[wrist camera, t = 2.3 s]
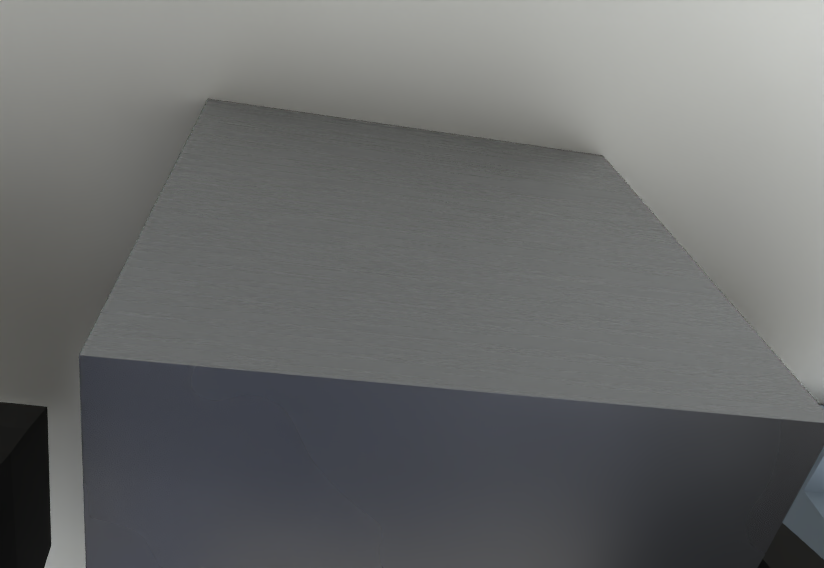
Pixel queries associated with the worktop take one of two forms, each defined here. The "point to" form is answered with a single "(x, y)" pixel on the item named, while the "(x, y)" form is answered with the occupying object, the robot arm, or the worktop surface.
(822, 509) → the tray
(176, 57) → the worktop surface
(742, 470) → the block
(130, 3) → the worktop surface
